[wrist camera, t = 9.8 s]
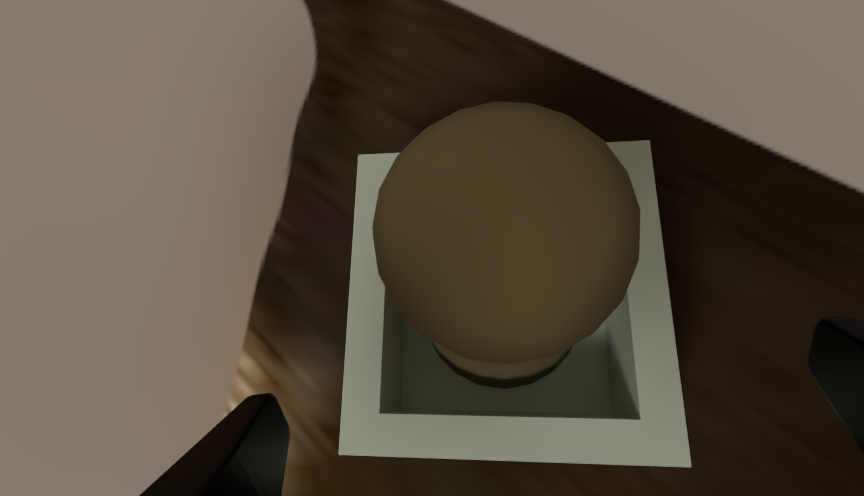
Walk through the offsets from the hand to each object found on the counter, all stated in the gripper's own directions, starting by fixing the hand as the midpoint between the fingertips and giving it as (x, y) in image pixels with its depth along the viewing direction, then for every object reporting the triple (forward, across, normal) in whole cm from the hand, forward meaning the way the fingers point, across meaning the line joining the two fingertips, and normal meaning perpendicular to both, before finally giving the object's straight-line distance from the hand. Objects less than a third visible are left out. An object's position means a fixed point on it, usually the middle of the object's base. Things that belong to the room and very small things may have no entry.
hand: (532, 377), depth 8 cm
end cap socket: (+10, 0, +6) cm, 11 cm away
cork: (+9, 0, +5) cm, 11 cm away
